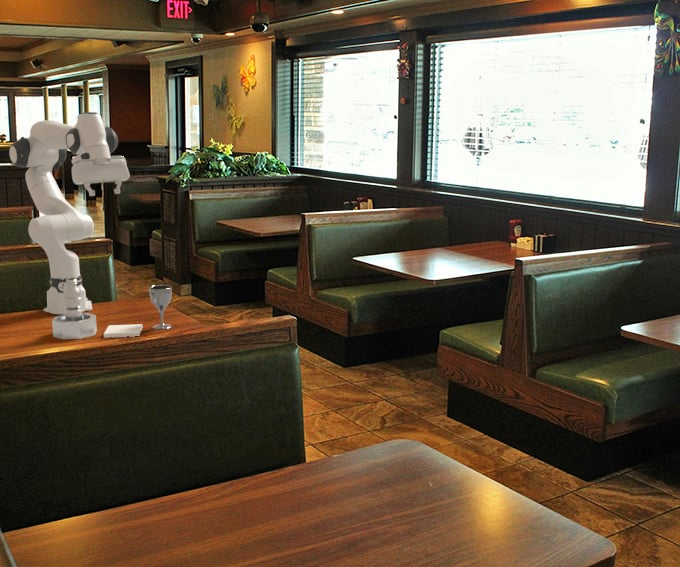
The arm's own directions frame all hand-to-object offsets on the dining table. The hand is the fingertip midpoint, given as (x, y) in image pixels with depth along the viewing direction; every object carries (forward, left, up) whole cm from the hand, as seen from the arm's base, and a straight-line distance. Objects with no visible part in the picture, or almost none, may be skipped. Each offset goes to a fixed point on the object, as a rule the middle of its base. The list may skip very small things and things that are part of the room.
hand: (105, 194), depth 281 cm
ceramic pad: (+8, +5, -49) cm, 50 cm away
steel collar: (+7, -12, -49) cm, 51 cm away
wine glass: (+1, +18, -49) cm, 52 cm away
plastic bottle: (+7, -12, -49) cm, 51 cm away
